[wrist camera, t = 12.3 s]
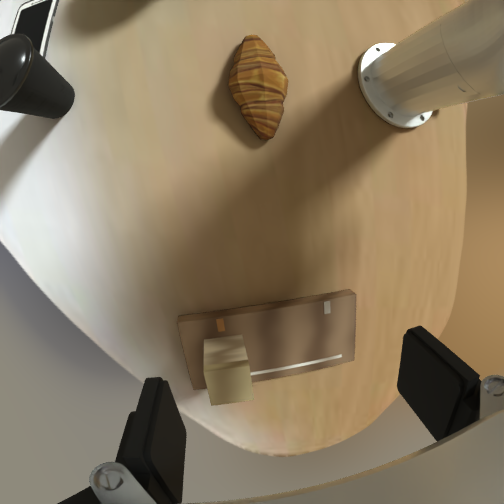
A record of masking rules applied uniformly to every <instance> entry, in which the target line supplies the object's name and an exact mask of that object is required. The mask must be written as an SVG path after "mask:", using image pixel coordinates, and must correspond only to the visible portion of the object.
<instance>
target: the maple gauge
mask: <svg viewBox="0 0 504 504" xmlns="http://www.w3.org/2000/svg"><path fill="white" fill-rule="evenodd" d="M204 376H205V381H206V385H207V389H208V393H209V397H210V402H211V406H212V405H221V404H229V403H236V402H243V401H250V400H254V395H253V388H252V381H251V373H250V366H249V362H248V357H247V353H246V349H245V345H244V340H243V336H242V335H235V336H228V337H220V338H213V339H205V340H204Z"/></svg>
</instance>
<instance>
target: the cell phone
mask: <svg viewBox="0 0 504 504" xmlns="http://www.w3.org/2000/svg"><path fill="white" fill-rule="evenodd" d="M58 2H59V0H30V1H28V2H26V3H24V4H22V5H21V6H20V7H19V10H18V12H17V15H16V17H17V18H15V20H16V21H15V22H14V25H13V27H14V28H12V32H11V34H15V33H20V34H24V35H26V36H27V37H28V38H29V39H30V40H31V42H32V45H33V47H34V48H35V49H36V50H37V51H38V52H39V53H40V54H41V55H42V56H43V57H44V58H45V56H46V51H47V46H48V41H49V37H50V32H51V28H52V24H53V18H54V16H55V13H56V9H57V6H58Z"/></svg>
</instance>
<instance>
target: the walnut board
mask: <svg viewBox="0 0 504 504" xmlns="http://www.w3.org/2000/svg"><path fill="white" fill-rule="evenodd" d="M177 324H178V329H179V333H180V338H181V342H182V346H183V351H184V355H185V359H186V363H187V367H188V371H189V375H190V379H191V383H192V386H193V390H196V389H206V388H207V385H206V381H205V376H204V340H205V339H213V338H220V337H228V336H235V335H242V336H243V340H244V345H245V349H246V353H247V357H248V362H249V366H250V373H251V381H252V382H256V381H262V380H268V379H274V378H279V377H284V376H289V375H294V374H299V373H304V372H309V371H313V370H318V369H322V368H326V367H331V366H335V365H339V364H343V363H347V362H350V361H354V355H355V332H356V294H355V293H354V292H353V291H351V290H350V289H348V290H343V291H337V292H332V293H327V294H321V295H315V296H310V297H304V298H298V299H292V300H286V301H280V302H274V303H268V304H261V305H255V306H248V307H241V308H234V309H227V310H220V311H213V312H205V313H198V314H190V315H181V316H178V321H177Z"/></svg>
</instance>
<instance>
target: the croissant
mask: <svg viewBox="0 0 504 504" xmlns="http://www.w3.org/2000/svg"><path fill="white" fill-rule="evenodd" d="M228 85H229V88H230V90H231V93H232V95H233V98H234V100H235V101H236V102H237V103H238V104H239V106H240V108H241V113H242V115H243V116H244V118H245V119H246V121H247V122H248V123H249V125H250V126H251V127H252V129H253V130H254V131H255V133H256V134H257V135H258V137H259V138H260V139H263V140H268V139H271V138H273V137H274V135H275V133H276V130H277V128H278V126H279V123H280V120H281V118H282V115H283V112H284V107H283V102H284V99H285V97H286V94H287V87H288V79H287V77H286V75H285V73H284V71H283V69H282V67H281V66H280V65H279V64H278V63H277V61H276V60H275V55H274V54H273V53H272V51H271V50H270V49H269V48H268V46H267V45H266V44H265V43H264V42H263V41H262V40H261V39H260V38H259V37H258V36H257V35H249V36H246V37H245V38H244V40H243V41H242V43H241V45H240V47H239V49H238V51H237V52H236V54H235V56H234V66H233V67H232V69H231V71H230V75H229V83H228Z"/></svg>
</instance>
